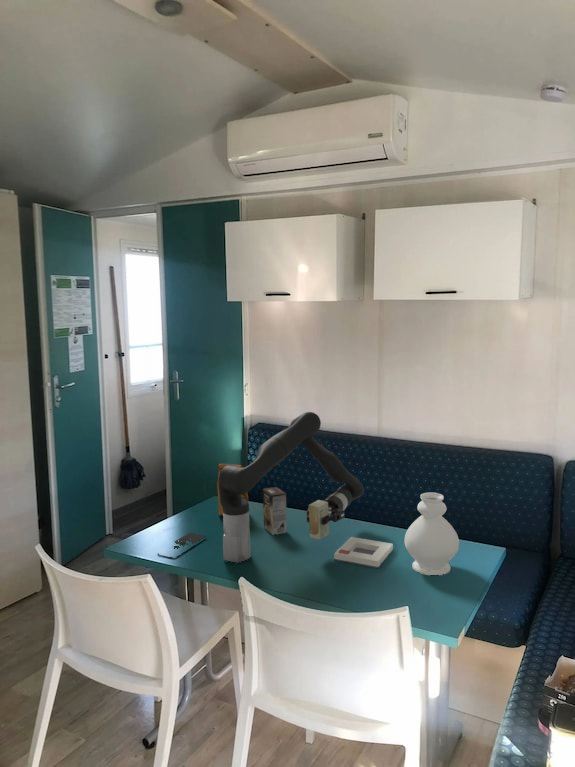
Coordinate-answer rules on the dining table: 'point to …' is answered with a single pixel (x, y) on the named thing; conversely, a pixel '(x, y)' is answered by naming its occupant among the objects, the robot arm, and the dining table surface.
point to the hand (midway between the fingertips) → (315, 521)
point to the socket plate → (363, 552)
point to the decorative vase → (431, 537)
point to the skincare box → (318, 519)
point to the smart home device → (187, 537)
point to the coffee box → (274, 510)
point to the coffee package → (218, 487)
